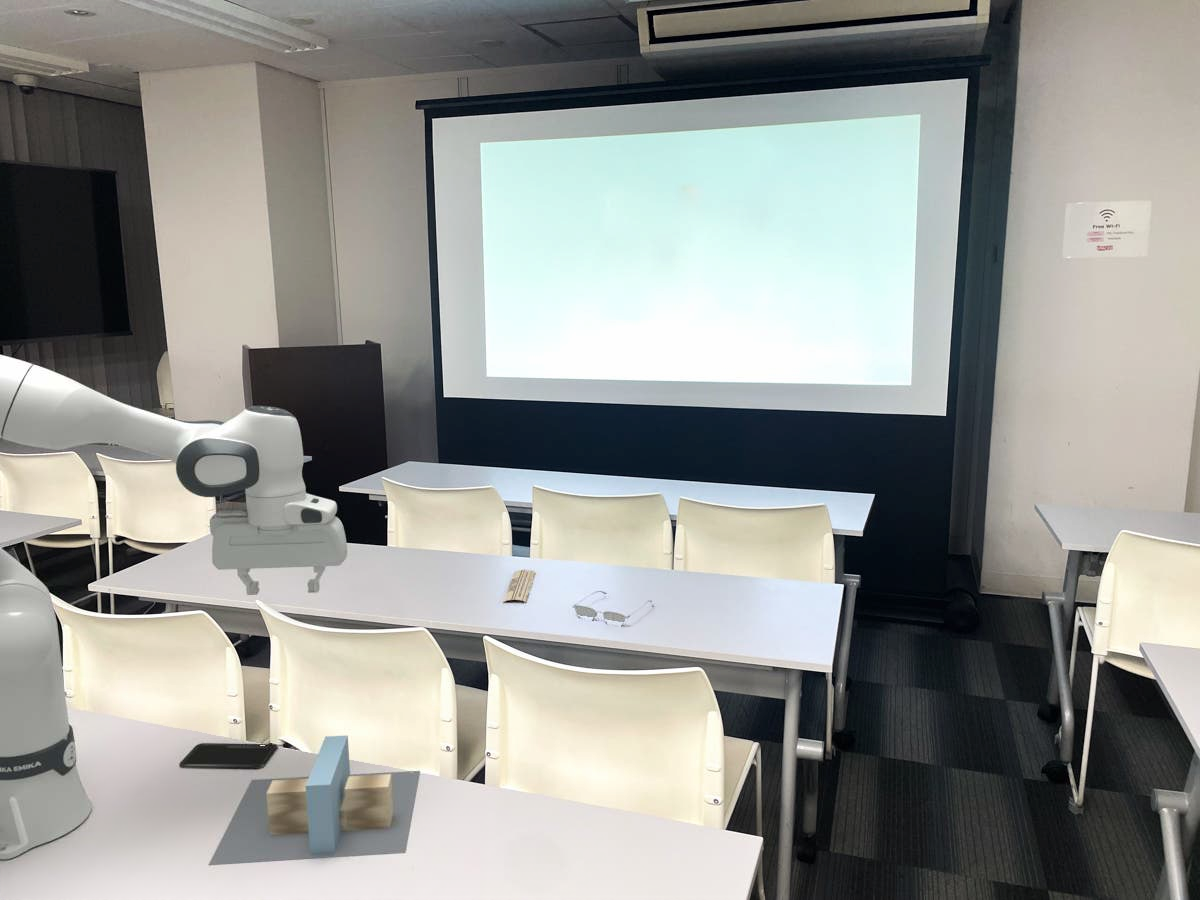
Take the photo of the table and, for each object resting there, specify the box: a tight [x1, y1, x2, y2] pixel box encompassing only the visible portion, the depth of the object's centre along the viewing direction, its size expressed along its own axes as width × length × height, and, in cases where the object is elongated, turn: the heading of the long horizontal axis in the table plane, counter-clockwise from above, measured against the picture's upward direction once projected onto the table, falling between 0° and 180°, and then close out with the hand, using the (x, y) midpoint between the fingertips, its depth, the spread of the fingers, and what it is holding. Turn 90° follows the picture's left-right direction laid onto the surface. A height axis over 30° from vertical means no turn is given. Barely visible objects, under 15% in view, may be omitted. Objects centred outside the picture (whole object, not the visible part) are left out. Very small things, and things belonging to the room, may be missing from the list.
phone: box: [178, 742, 279, 771], centre depth 157 cm, size 8×1×15 cm
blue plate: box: [306, 735, 351, 854], centre depth 136 cm, size 4×14×11 cm, turn 6°
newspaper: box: [503, 569, 536, 604], centre depth 242 cm, size 24×7×2 cm, turn 178°
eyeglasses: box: [572, 590, 653, 623], centre depth 225 cm, size 15×18×4 cm
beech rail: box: [266, 774, 393, 835], centre depth 137 cm, size 18×4×7 cm, turn 96°
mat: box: [208, 770, 421, 866], centre depth 140 cm, size 28×22×1 cm
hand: (283, 592), depth 142 cm, fingers open, 8 cm apart
